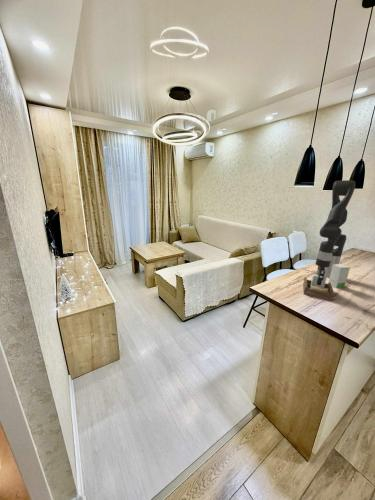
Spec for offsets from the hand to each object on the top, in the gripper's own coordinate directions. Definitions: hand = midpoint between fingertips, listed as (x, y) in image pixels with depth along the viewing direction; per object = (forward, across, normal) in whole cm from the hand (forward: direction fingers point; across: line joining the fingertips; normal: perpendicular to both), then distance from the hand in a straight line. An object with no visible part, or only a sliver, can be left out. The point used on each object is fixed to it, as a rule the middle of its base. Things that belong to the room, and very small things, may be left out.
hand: (318, 282), depth 134 cm
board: (+6, 0, 0) cm, 6 cm away
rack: (+7, +2, 0) cm, 7 cm away
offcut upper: (+3, +6, 0) cm, 7 cm away
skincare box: (+7, -17, +13) cm, 22 cm away
